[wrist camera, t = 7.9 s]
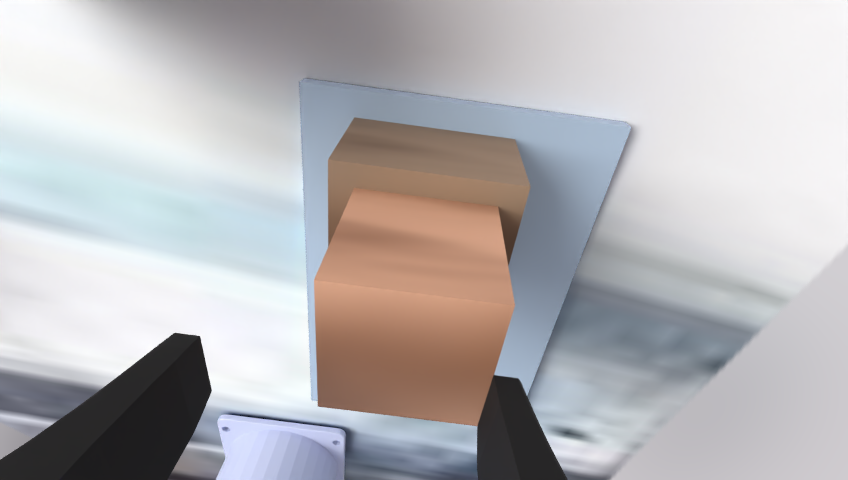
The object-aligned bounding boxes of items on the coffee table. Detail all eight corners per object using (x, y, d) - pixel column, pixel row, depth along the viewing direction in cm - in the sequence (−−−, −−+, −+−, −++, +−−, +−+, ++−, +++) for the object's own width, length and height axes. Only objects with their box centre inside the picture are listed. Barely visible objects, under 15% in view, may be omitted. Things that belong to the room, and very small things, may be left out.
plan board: (514, 416, 26) (515, 425, 26) (314, 391, 26) (311, 400, 25) (626, 122, 16) (631, 127, 16) (304, 78, 16) (299, 82, 16)
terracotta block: (472, 313, 16) (478, 426, 12) (351, 298, 16) (317, 406, 12) (498, 206, 13) (515, 305, 10) (354, 187, 13) (314, 280, 9)
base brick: (483, 267, 19) (489, 332, 16) (350, 250, 19) (328, 311, 16) (515, 139, 16) (530, 186, 13) (354, 117, 16) (327, 159, 13)
